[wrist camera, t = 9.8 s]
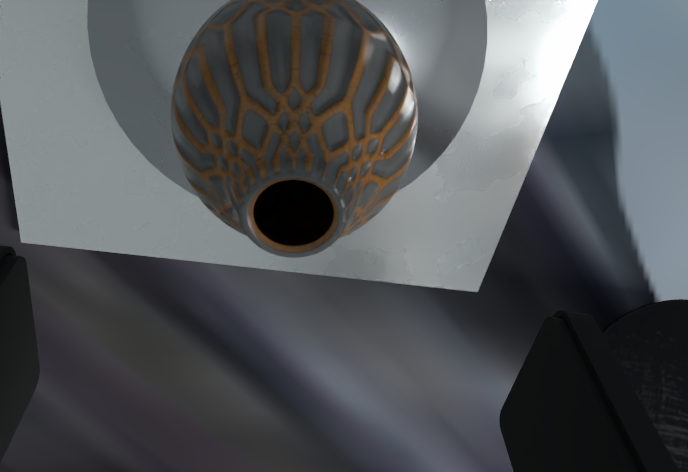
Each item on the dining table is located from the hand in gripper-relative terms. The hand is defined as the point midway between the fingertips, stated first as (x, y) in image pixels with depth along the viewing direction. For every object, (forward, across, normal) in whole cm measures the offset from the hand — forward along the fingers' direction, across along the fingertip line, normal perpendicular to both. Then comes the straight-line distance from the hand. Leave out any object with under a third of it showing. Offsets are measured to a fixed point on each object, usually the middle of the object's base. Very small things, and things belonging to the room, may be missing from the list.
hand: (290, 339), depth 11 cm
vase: (+12, 0, -1) cm, 12 cm away
